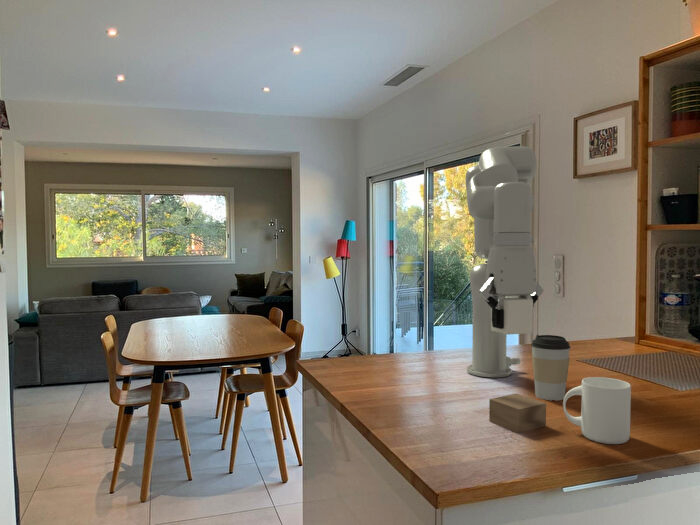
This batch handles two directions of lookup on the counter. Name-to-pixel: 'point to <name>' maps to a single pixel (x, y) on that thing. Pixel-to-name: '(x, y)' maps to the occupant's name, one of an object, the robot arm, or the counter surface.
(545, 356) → the coffee cup
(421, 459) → the counter surface
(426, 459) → the counter surface
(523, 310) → the cream block
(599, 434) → the mug
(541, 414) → the walnut block
